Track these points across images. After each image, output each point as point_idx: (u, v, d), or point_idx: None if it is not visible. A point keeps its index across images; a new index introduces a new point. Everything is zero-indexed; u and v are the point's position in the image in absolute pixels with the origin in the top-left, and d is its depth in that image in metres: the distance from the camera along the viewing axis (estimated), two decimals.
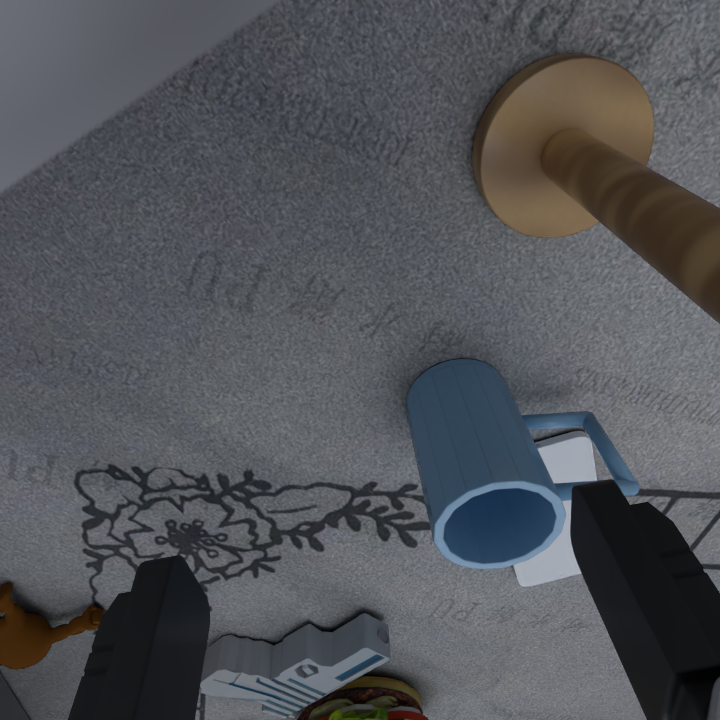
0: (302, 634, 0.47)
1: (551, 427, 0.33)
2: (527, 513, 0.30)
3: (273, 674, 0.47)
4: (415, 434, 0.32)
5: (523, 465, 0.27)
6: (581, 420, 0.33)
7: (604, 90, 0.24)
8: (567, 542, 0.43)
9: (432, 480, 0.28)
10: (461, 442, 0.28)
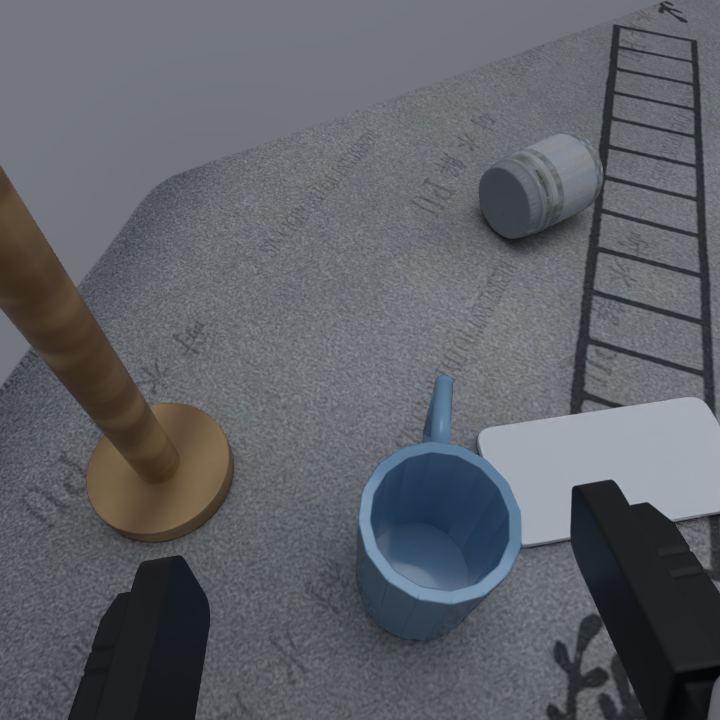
0: None
1: None
2: (473, 486, 0.25)
3: None
4: (402, 626, 0.26)
5: None
6: (426, 437, 0.32)
7: None
8: (657, 444, 0.34)
9: (397, 601, 0.23)
10: (361, 562, 0.24)
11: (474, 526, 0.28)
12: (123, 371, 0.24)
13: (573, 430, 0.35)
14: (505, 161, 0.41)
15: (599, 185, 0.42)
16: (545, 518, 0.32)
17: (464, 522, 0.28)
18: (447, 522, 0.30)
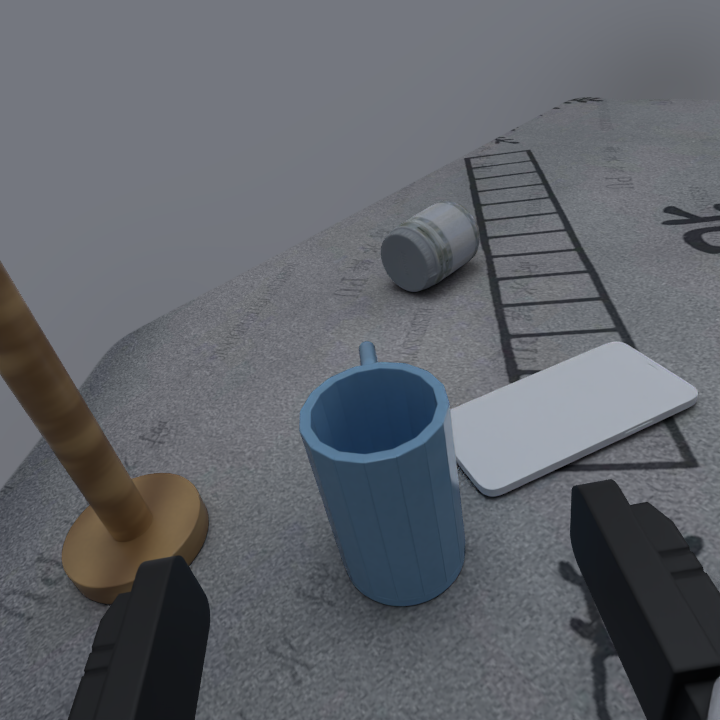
0: None
1: None
2: (409, 403, 0.27)
3: None
4: (387, 561, 0.25)
5: None
6: None
7: (93, 516, 0.34)
8: (593, 381, 0.36)
9: (357, 499, 0.23)
10: (322, 492, 0.25)
11: None
12: (75, 388, 0.27)
13: (515, 394, 0.37)
14: (393, 231, 0.50)
15: (475, 229, 0.51)
16: (511, 462, 0.32)
17: None
18: None
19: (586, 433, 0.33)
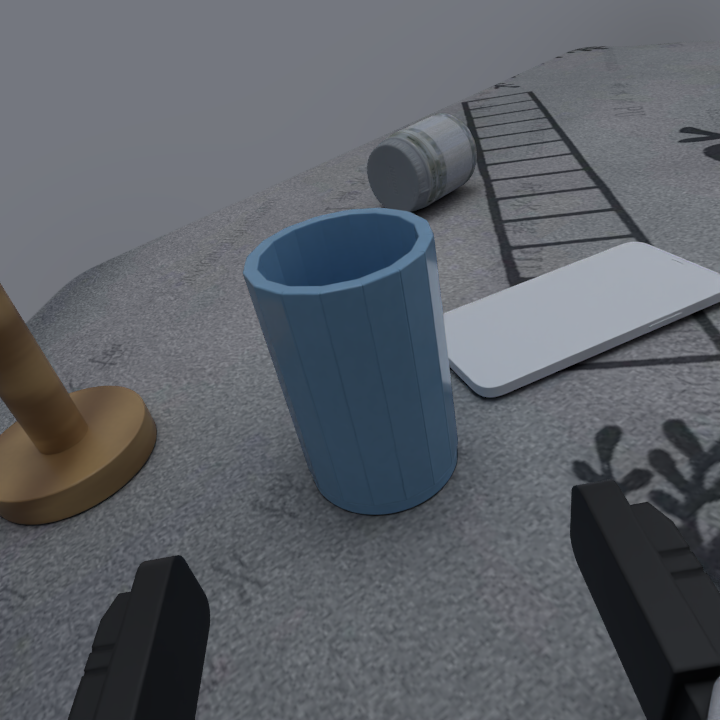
0: None
1: None
2: (387, 263, 0.22)
3: None
4: (357, 449, 0.20)
5: None
6: None
7: (20, 431, 0.29)
8: (608, 279, 0.31)
9: (315, 354, 0.18)
10: (275, 359, 0.20)
11: None
12: None
13: (518, 295, 0.32)
14: (380, 144, 0.45)
15: (472, 143, 0.46)
16: (514, 360, 0.27)
17: None
18: None
19: (602, 328, 0.28)
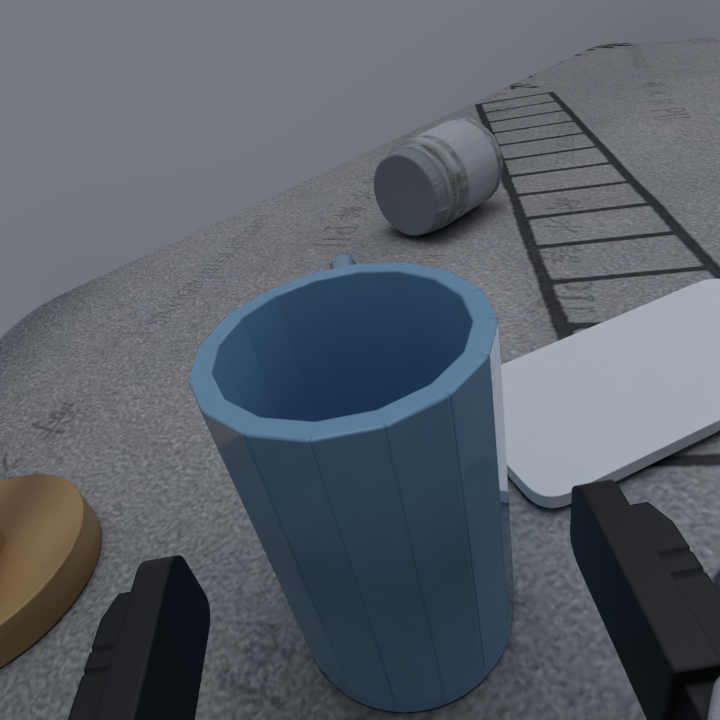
0: None
1: None
2: (413, 341, 0.15)
3: None
4: (373, 641, 0.13)
5: None
6: None
7: None
8: (690, 332, 0.24)
9: (305, 522, 0.11)
10: None
11: None
12: None
13: (572, 352, 0.25)
14: (389, 154, 0.38)
15: (498, 153, 0.39)
16: (580, 452, 0.20)
17: None
18: None
19: (696, 405, 0.21)
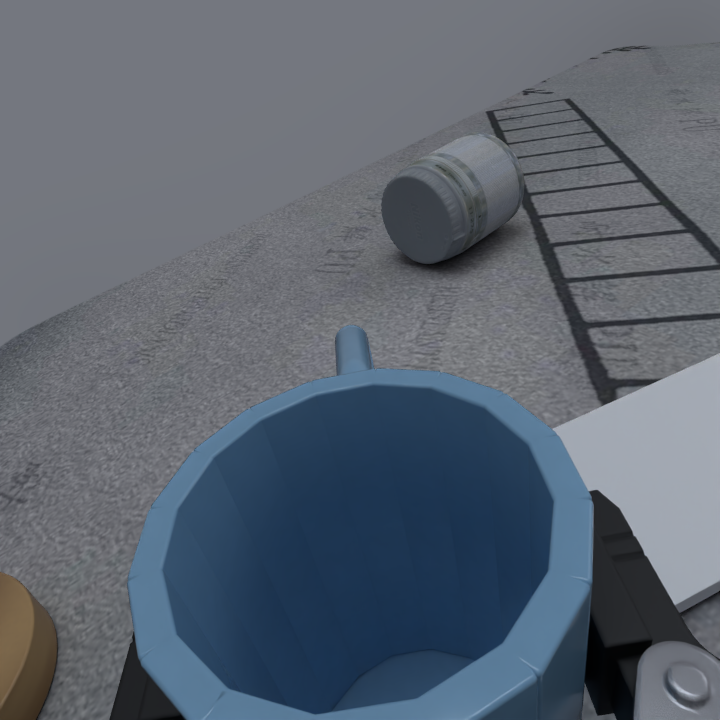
0: None
1: None
2: (448, 469, 0.11)
3: None
4: None
5: None
6: None
7: None
8: None
9: None
10: None
11: (497, 593, 0.12)
12: None
13: (620, 423, 0.21)
14: (399, 174, 0.34)
15: (519, 172, 0.35)
16: None
17: (477, 596, 0.13)
18: (454, 623, 0.14)
19: None
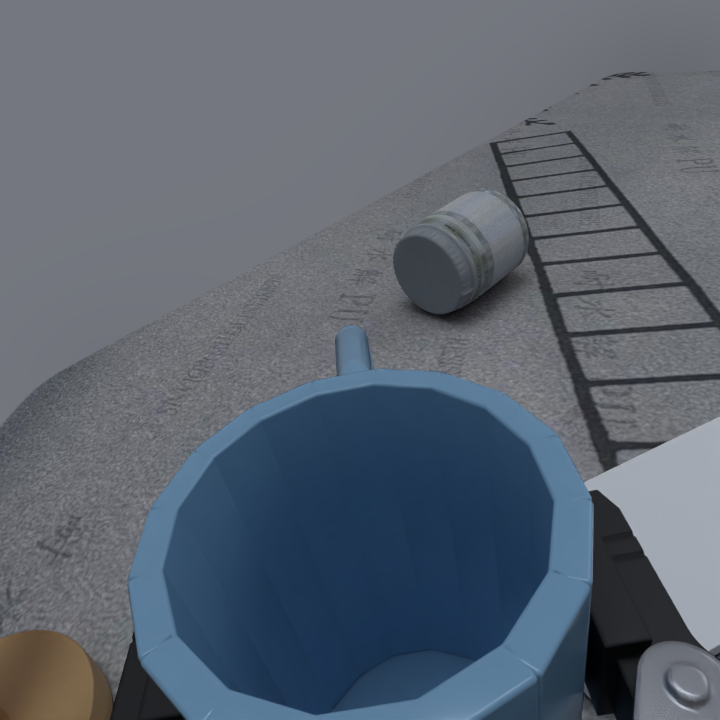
0: None
1: None
2: (448, 469, 0.11)
3: None
4: None
5: None
6: None
7: None
8: None
9: None
10: None
11: (498, 593, 0.12)
12: None
13: (620, 490, 0.23)
14: (410, 231, 0.36)
15: (524, 227, 0.37)
16: None
17: (477, 597, 0.13)
18: (454, 623, 0.14)
19: None
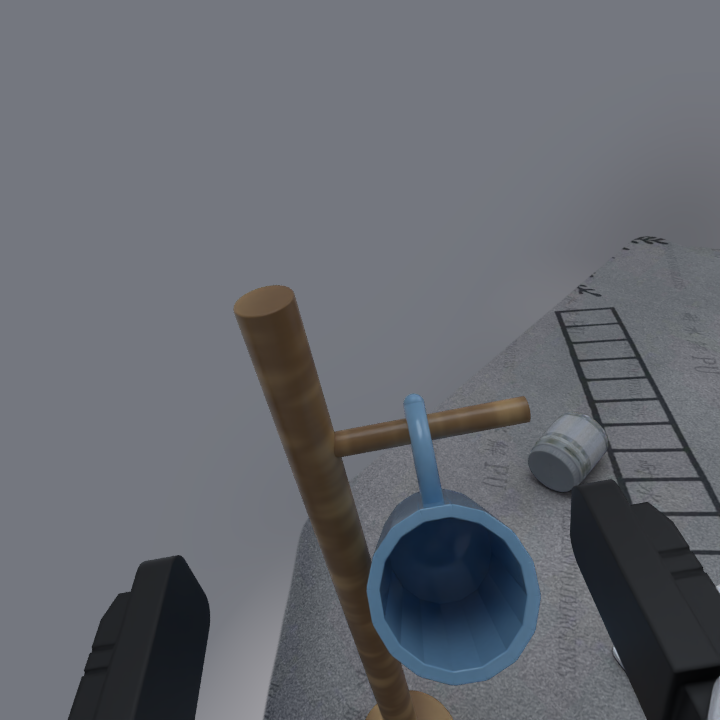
0: None
1: None
2: None
3: None
4: None
5: None
6: None
7: None
8: None
9: None
10: None
11: None
12: None
13: None
14: (541, 445, 0.62)
15: (606, 440, 0.63)
16: None
17: None
18: None
19: None
